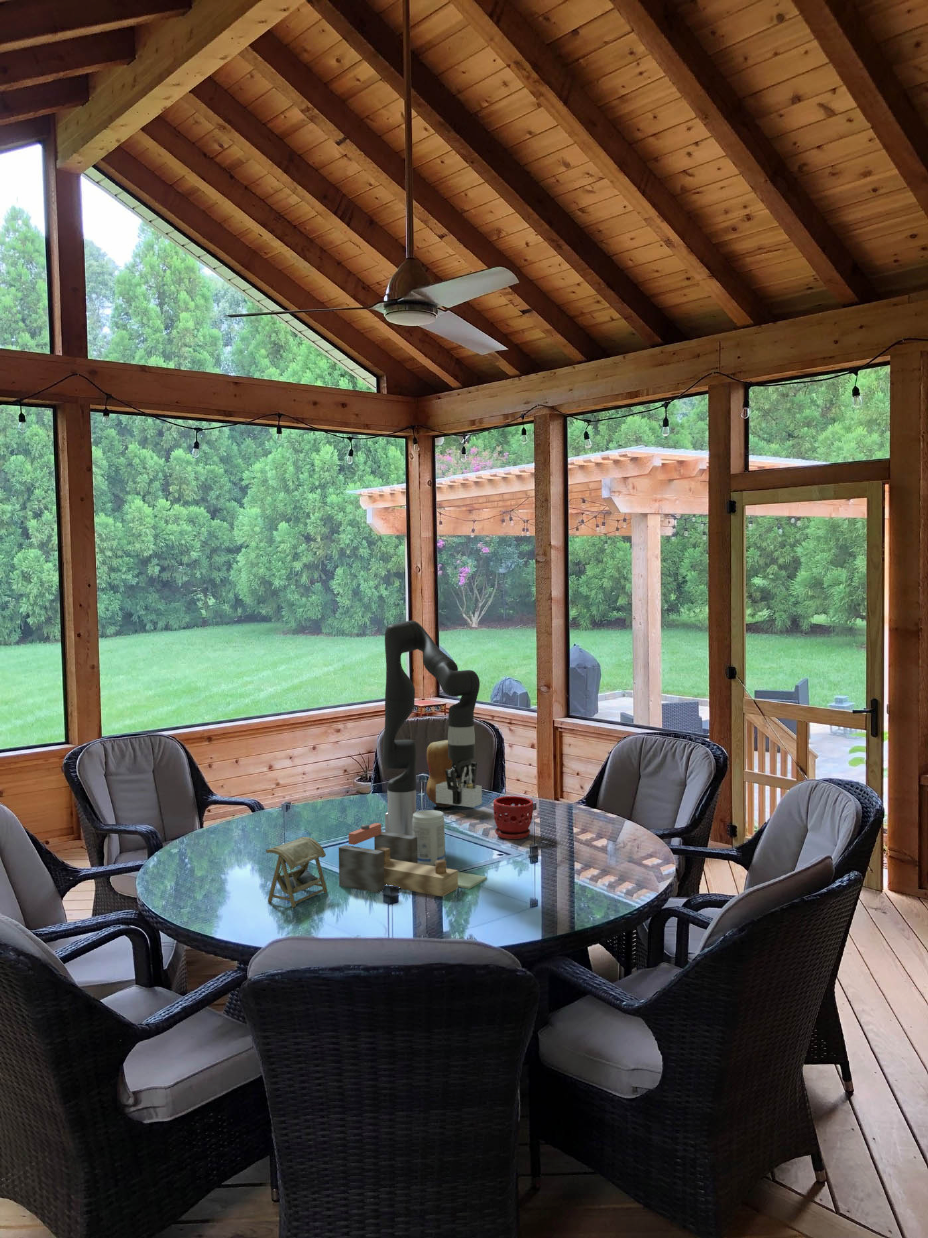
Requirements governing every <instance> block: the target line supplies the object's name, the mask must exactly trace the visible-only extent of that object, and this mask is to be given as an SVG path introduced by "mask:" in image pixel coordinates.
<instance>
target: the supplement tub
mask: <svg viewBox="0 0 928 1238" xmlns="http://www.w3.org/2000/svg"><path fill="white" fill-rule="evenodd" d="M445 831H446V829H445V814H444V812H443V811H440V810H434V809H432V810H431V809H429V810H427V809H426V810H424V809H423V810H418V811H416V812H415V813H414V814H413V836H417V855H418V864H424V865H430V866H435V861H437V860H445V861H446V839H445V837H446V836H445V835H446V834H445V833H446V832H445Z"/></svg>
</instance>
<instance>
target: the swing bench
mask: <svg viewBox="0 0 928 1238" xmlns="http://www.w3.org/2000/svg"><path fill="white" fill-rule="evenodd" d="M265 853H266V854H275V855H277V856H278V857H277V861H276V866H275V870H274V874H273V878H272V882H271V885H270V890H269V894H268V898H267V903H269V904H270V903H271V904H272V902H273V898H274V899H278V900H279V899H280V900H284V901H288V902H290V905H291V908H295V907H297V904H299V903H302V902H303V901H306V900H308V899H310V898H312V897H314V896H316V895H318V894H320V893H324V894H326V893H328V888H327V883H326V881H325V876H324V873H323V869H322V865H321V861H320V858H326V852H325V849H324V848H323V846H322V845H321V844H320V843H319V842H318V841H317V840H315V839H313V838H311V837H308V836H301V837H298V838H297V839H295V840H291V841H289V842H285V843H283V844H281V845H278V846H274V847H272V848H268V849H265ZM312 861H315V865H316V868H317V872H318V875H319V877H317V876H315V875H314V874H312V873H311V872H310V871H308V868H309V865H310V862H312ZM287 867H289V870H290V872H288V868H287ZM297 867H300V868H298V869H296V868H297ZM294 869H296V870H294ZM293 870H294V871H293ZM281 873H283V874H282V875H281ZM277 883H278V885H279V887H280V889H281V891H282V892H283V893H284V894H285V895H288V897H287V896H282V895H278V894H275V890H276V886H277ZM314 886H317V887H321V889H319V890H317V891H315V892H312V893H309V894H308V895H306V896H304V897H302V898H298V899H297V900H295V896H294V895H295V894H297V893H299V892H302V891H305V890H308V889H310V888H312V887H314Z"/></svg>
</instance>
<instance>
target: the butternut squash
mask: <svg viewBox="0 0 928 1238" xmlns="http://www.w3.org/2000/svg"><path fill="white" fill-rule="evenodd" d="M426 762H427V767H428V771H429V772H428V773H429V777H428V780H427V783H426V795H427V797H428V799H429V801H431V803H433V804H435V805H436V806H437V807H438V808H451V807H452V806H453V805H451V804H443V803H436V785H437V784H440V783H443V782H447V780H446V772H445V771H446V769H451V766H452V760H451V759H449V758H448V739H444V740H439V741H433V742H430V744H429V745H428V746H427V748H426ZM457 780H459V779H457Z"/></svg>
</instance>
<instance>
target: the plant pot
mask: <svg viewBox="0 0 928 1238" xmlns="http://www.w3.org/2000/svg"><path fill="white" fill-rule="evenodd" d="M492 808H493V820H494V823H495V825H496V827H495V829H494V832H495V834H496V836H498V837H499V838H502V839H507V840H520V839H524V838H527V837H528V836H529V835H530V834H531V830H530V829H529V828H530V826H531V824H532V821H533V815H534V814H533V813H534V801H533V800H532V799H530V798H529V797H528V798H527V797H523V796H516V795H514V796H512V795H510V796H509V795H506V796H500V797H497V798H495V799H493V807H492Z"/></svg>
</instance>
